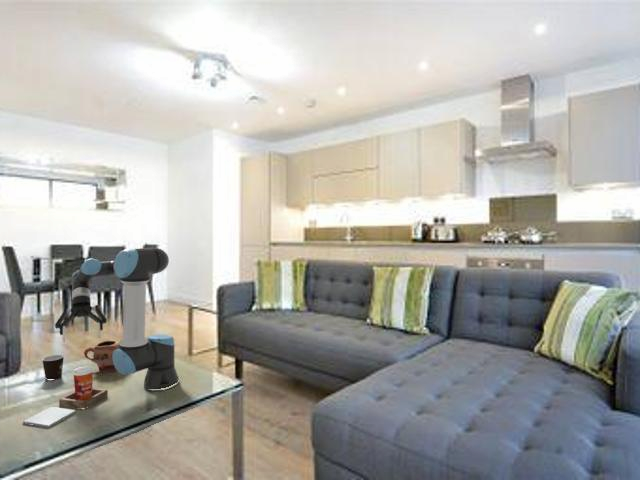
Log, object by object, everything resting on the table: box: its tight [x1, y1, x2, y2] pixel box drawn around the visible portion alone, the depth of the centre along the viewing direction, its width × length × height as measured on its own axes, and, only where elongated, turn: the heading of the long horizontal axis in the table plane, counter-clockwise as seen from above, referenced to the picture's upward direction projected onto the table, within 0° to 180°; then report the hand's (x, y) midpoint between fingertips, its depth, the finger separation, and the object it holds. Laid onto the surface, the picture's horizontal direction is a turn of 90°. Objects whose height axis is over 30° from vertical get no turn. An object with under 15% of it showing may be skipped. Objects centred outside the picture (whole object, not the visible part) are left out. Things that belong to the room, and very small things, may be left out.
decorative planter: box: [83, 340, 120, 373], centre depth 202 cm, size 20×12×14 cm, turn 106°
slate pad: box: [22, 406, 77, 429], centre depth 152 cm, size 12×12×1 cm
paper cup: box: [72, 365, 95, 401], centre depth 166 cm, size 8×8×14 cm
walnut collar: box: [58, 387, 108, 410], centre depth 167 cm, size 12×12×3 cm
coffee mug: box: [41, 354, 65, 380], centre depth 192 cm, size 12×9×10 cm
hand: (81, 338), depth 176 cm, fingers open, 13 cm apart
